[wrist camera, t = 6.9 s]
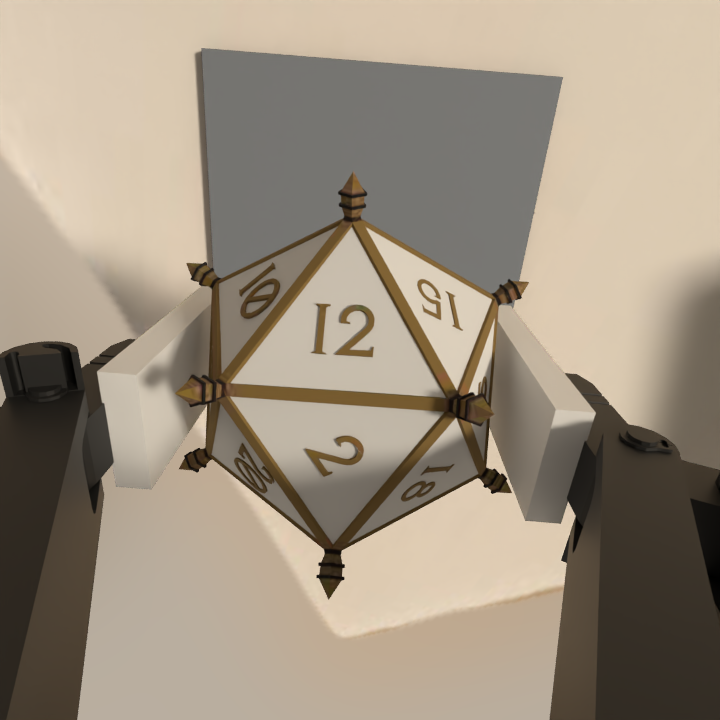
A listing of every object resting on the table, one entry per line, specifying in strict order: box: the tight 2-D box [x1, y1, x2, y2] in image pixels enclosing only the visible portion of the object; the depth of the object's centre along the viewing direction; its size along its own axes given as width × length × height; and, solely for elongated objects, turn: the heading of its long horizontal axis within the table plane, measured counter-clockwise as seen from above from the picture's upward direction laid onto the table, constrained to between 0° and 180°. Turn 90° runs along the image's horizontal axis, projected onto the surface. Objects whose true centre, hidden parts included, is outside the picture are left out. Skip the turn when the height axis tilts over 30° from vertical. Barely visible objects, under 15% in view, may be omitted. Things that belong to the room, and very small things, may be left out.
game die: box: [175, 171, 529, 599], centre depth 12 cm, size 9×8×10 cm
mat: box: [201, 48, 563, 308], centre depth 28 cm, size 18×18×1 cm
